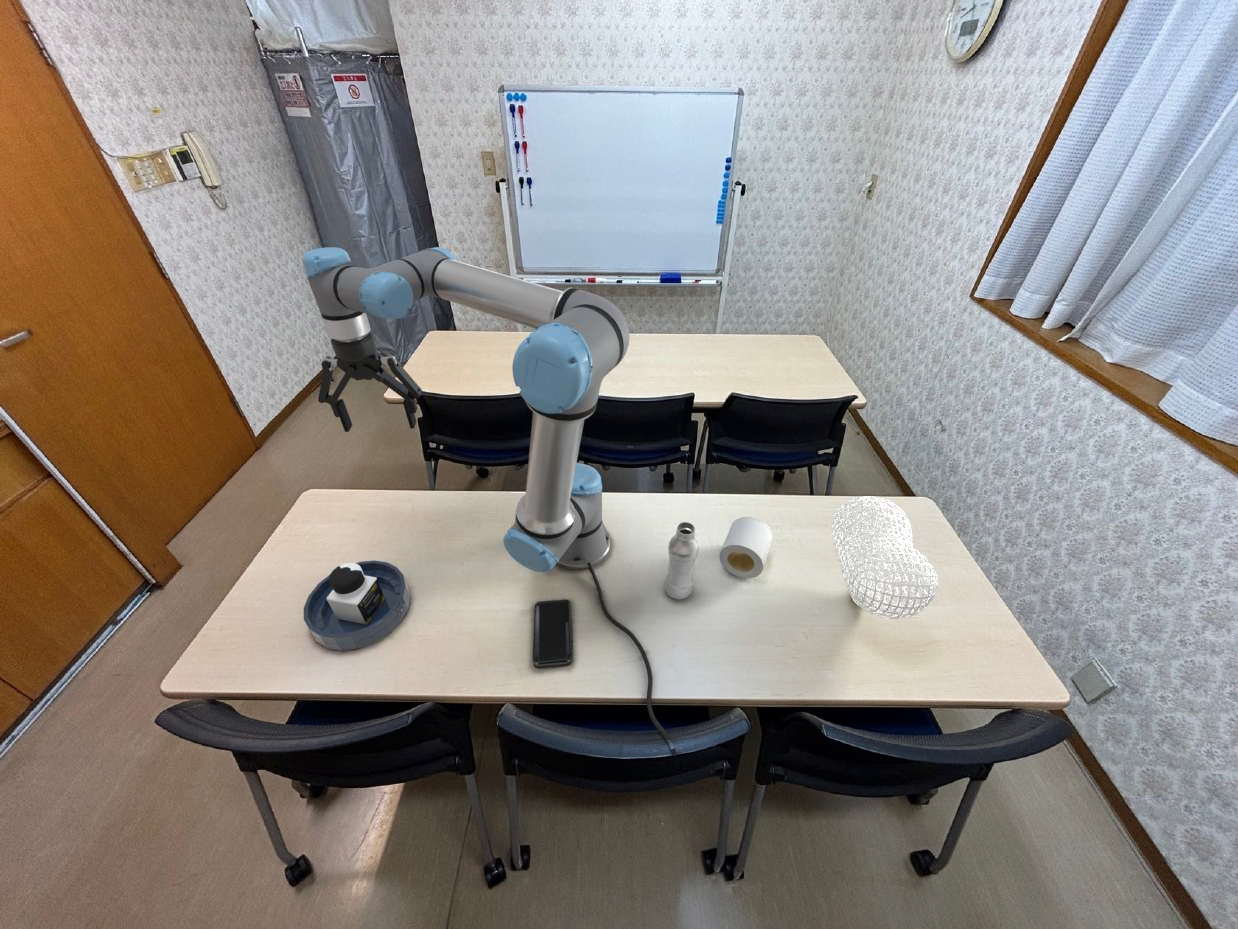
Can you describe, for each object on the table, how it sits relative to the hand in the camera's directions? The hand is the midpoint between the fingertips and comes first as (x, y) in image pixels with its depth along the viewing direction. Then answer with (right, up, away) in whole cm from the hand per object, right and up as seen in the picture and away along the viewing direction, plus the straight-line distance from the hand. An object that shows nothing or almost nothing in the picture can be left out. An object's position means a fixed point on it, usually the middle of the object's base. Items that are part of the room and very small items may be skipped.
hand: (381, 426), depth 111 cm
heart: (+105, -39, +2) cm, 112 cm away
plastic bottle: (+65, -37, +4) cm, 75 cm away
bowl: (-3, -40, -1) cm, 40 cm away
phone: (+38, -43, -5) cm, 58 cm away
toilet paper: (+82, -32, +11) cm, 88 cm away
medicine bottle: (-3, -39, -2) cm, 40 cm away
